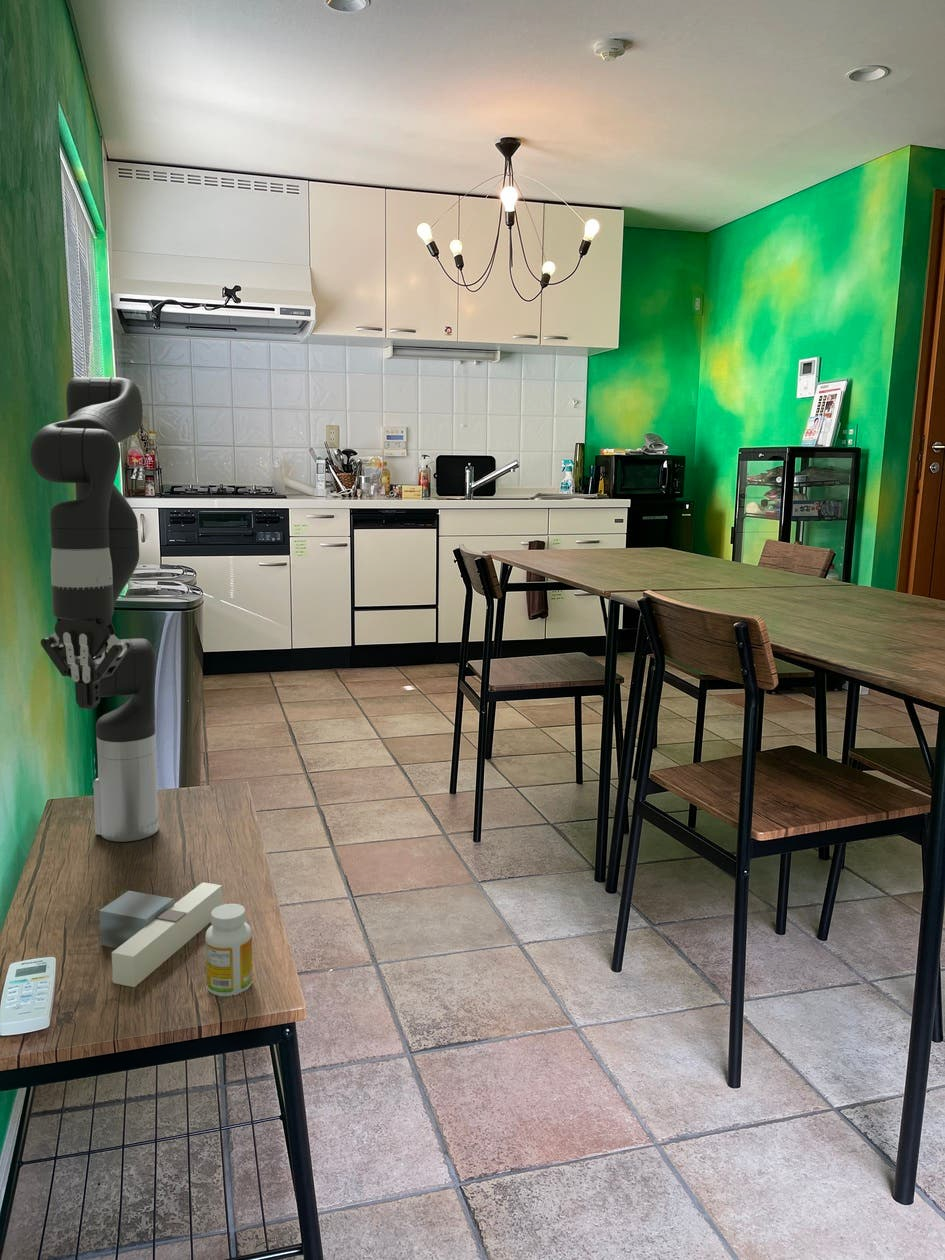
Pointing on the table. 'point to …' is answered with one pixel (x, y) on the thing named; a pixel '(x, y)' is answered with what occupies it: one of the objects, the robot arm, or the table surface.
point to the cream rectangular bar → (164, 935)
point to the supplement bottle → (228, 951)
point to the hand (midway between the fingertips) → (88, 707)
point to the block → (129, 916)
